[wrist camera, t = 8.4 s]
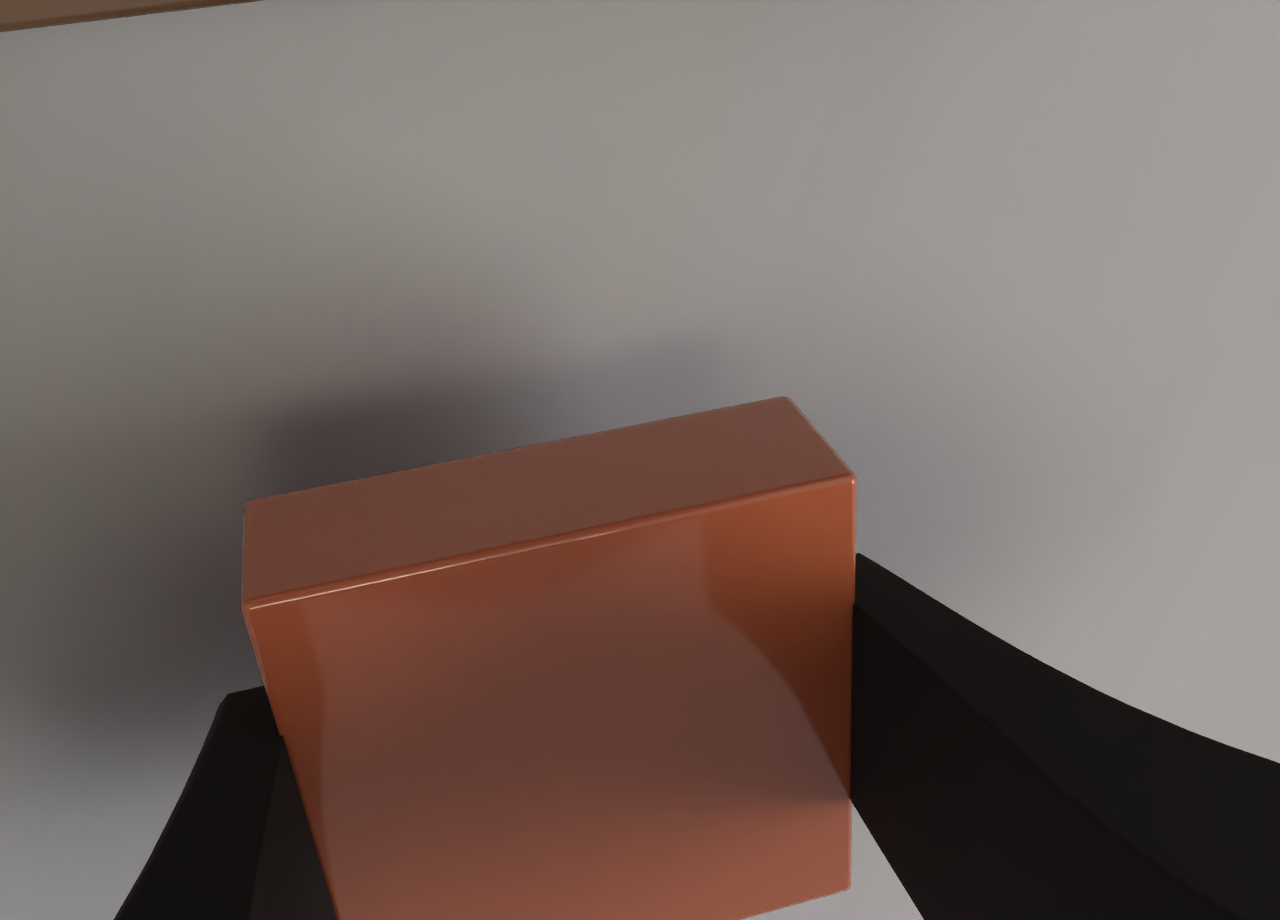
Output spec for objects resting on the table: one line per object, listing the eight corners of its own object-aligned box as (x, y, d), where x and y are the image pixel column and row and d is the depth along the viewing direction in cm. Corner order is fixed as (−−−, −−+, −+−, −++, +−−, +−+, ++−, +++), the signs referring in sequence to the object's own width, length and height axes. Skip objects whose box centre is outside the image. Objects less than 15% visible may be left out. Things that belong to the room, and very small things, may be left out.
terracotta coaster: (354, 895, 14) (364, 1028, 13) (241, 498, 12) (237, 604, 10) (795, 782, 15) (854, 891, 14) (789, 391, 13) (860, 475, 11)
